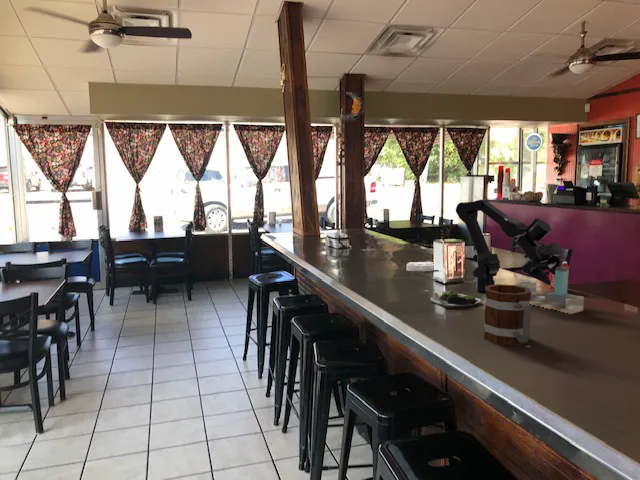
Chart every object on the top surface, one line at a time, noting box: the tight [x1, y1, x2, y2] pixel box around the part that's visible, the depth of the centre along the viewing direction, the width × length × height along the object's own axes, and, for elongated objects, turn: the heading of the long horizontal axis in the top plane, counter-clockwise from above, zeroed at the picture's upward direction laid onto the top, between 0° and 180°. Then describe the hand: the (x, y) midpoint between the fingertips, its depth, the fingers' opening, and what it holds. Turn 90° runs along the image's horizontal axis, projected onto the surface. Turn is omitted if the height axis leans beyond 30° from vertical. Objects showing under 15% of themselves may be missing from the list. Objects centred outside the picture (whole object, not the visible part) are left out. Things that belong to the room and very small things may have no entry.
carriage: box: [544, 267, 577, 304], centre depth 178 cm, size 8×6×12 cm
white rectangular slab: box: [406, 261, 434, 272], centre depth 255 cm, size 3×18×15 cm
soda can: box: [548, 260, 570, 292], centre depth 206 cm, size 7×7×12 cm
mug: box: [483, 283, 532, 347], centre depth 145 cm, size 20×14×15 cm
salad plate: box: [430, 290, 482, 310], centre depth 191 cm, size 19×18×5 cm
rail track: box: [514, 280, 585, 315], centre depth 183 cm, size 22×8×7 cm, turn 33°
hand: (557, 282), depth 180 cm, fingers open, 9 cm apart
